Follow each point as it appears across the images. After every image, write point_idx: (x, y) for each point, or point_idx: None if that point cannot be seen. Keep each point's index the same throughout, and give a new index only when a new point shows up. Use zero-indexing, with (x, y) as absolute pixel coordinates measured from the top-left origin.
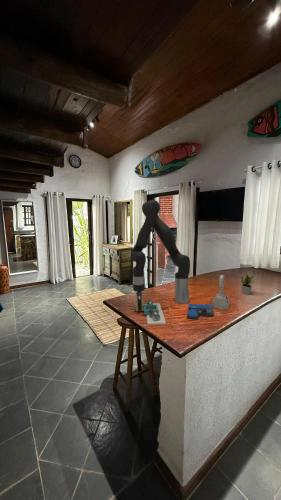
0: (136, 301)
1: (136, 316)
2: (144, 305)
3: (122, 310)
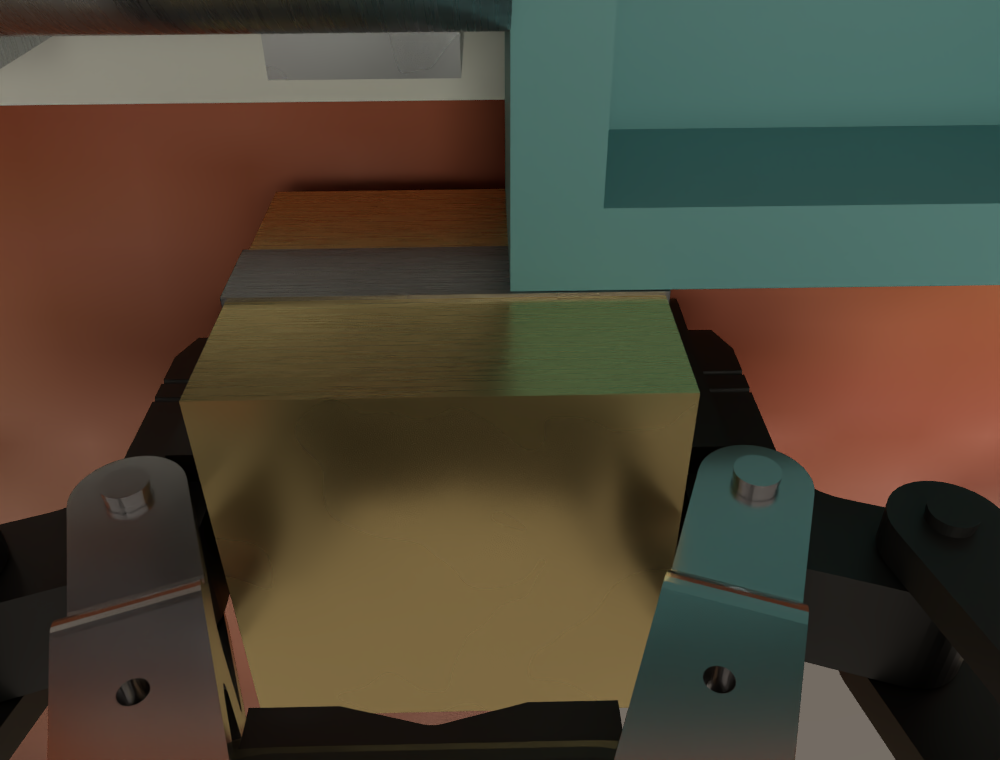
0: (400, 682)
1: (936, 411)
2: (582, 249)
3: (438, 716)
